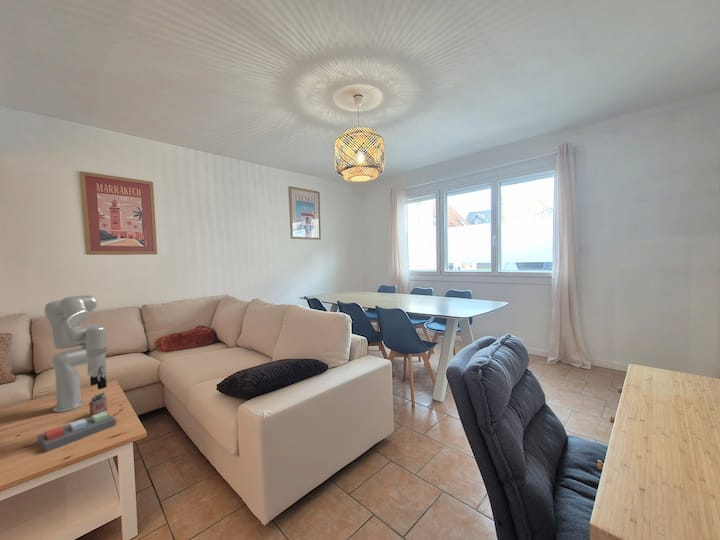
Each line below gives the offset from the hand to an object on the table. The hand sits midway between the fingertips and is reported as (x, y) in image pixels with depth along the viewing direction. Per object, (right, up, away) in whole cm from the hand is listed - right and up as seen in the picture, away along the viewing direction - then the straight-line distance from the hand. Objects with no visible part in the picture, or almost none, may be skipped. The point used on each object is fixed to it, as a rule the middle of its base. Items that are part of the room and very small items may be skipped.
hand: (98, 386), depth 145 cm
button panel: (-4, -20, -6) cm, 21 cm away
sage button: (0, -18, 0) cm, 18 cm away
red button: (-8, -18, -13) cm, 24 cm away
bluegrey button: (-4, -18, -6) cm, 19 cm away
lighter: (-11, -20, +12) cm, 26 cm away
